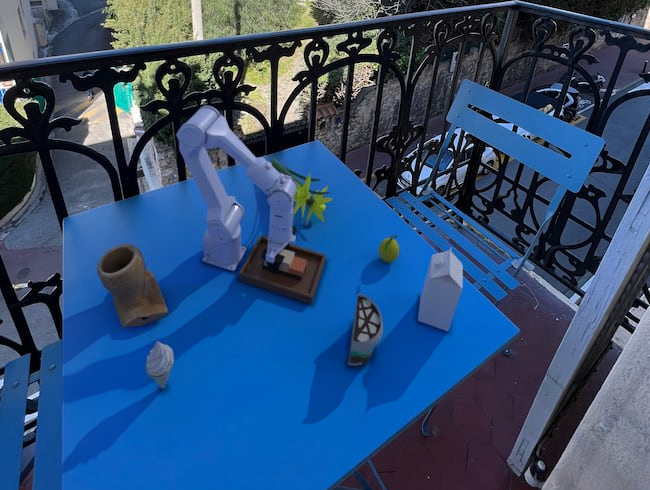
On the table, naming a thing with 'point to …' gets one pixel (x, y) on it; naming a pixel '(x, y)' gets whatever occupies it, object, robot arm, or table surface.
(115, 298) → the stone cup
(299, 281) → the brown serving tray
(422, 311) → the milk carton
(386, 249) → the yellow pear
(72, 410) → the table surface
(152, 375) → the ice cream cone
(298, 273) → the beige and orange block
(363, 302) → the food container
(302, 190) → the daffodil flowers
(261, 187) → the robot arm
